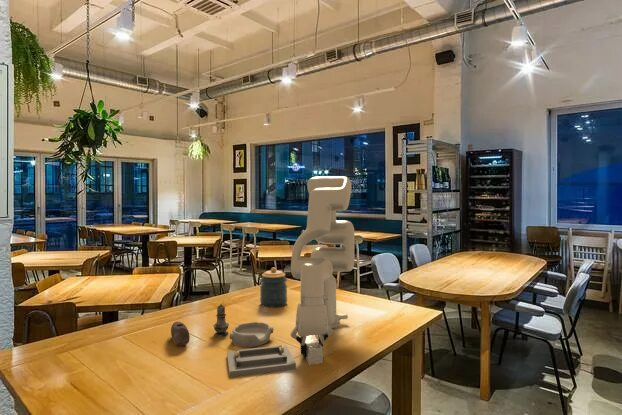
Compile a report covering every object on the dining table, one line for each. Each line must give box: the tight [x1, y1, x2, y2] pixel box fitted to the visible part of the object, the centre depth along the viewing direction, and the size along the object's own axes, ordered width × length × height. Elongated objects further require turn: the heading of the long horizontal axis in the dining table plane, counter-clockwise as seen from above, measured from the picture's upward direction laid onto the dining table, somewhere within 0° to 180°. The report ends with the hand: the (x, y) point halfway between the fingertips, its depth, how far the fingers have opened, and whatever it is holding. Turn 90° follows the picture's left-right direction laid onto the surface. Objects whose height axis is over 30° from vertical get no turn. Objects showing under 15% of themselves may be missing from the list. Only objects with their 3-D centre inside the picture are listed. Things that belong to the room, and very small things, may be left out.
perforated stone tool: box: [170, 321, 190, 347], centre depth 142 cm, size 15×5×7 cm, turn 28°
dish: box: [229, 321, 274, 348], centre depth 142 cm, size 14×14×5 cm
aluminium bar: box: [305, 335, 324, 365], centre depth 129 cm, size 4×11×5 cm, turn 14°
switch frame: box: [226, 345, 297, 377], centre depth 124 cm, size 20×14×4 cm
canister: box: [259, 267, 288, 308], centre depth 188 cm, size 13×13×18 cm
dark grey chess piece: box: [212, 303, 230, 338], centre depth 148 cm, size 6×6×12 cm
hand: (311, 354), depth 129 cm, fingers closed on aluminium bar, 4 cm apart
